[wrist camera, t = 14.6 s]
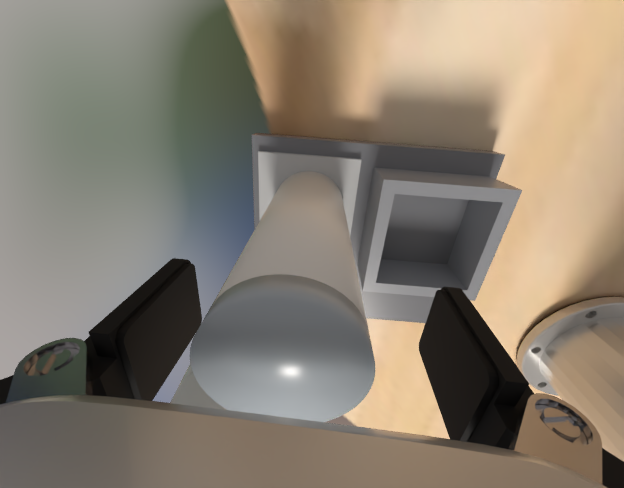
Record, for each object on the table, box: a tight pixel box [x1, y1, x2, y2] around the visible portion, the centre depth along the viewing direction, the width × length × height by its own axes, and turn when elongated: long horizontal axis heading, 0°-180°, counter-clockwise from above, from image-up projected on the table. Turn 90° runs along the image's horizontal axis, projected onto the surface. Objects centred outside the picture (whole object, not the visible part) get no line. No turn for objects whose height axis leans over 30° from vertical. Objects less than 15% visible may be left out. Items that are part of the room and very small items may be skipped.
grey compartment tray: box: [252, 133, 522, 323], centre depth 21 cm, size 17×15×5 cm
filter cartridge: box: [190, 171, 375, 422], centre depth 14 cm, size 5×5×14 cm
